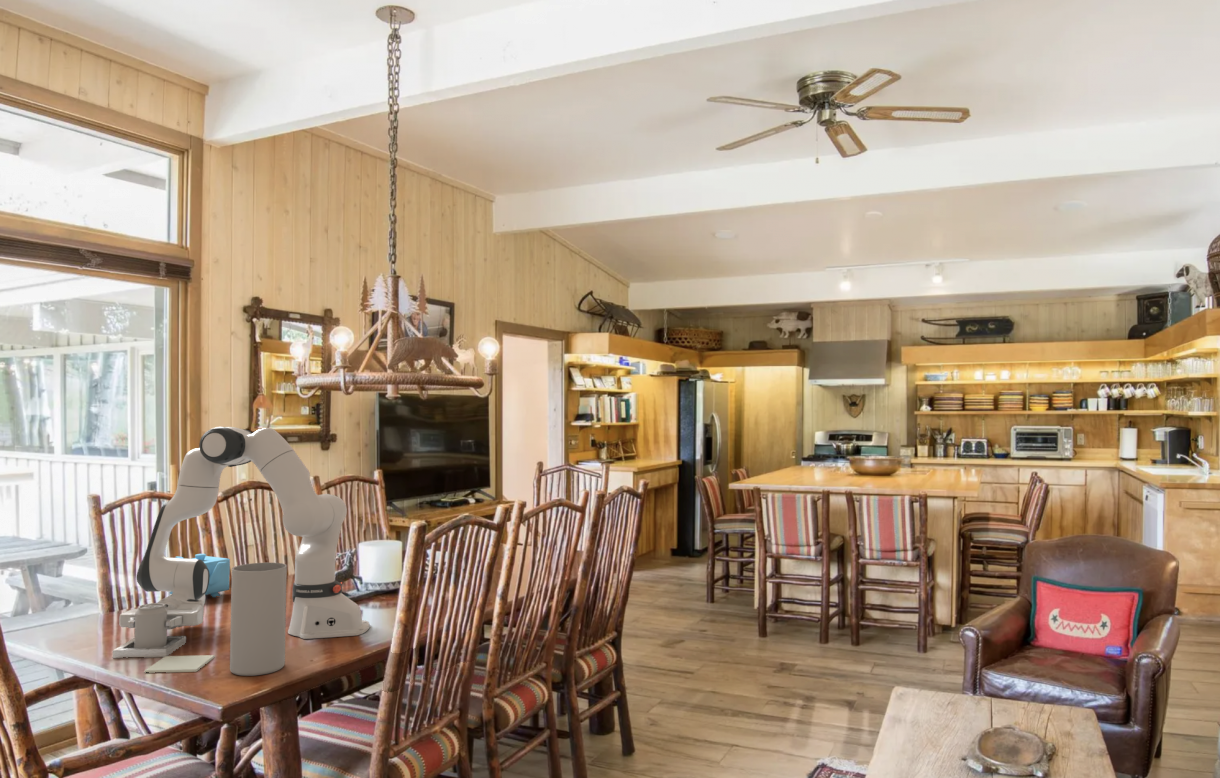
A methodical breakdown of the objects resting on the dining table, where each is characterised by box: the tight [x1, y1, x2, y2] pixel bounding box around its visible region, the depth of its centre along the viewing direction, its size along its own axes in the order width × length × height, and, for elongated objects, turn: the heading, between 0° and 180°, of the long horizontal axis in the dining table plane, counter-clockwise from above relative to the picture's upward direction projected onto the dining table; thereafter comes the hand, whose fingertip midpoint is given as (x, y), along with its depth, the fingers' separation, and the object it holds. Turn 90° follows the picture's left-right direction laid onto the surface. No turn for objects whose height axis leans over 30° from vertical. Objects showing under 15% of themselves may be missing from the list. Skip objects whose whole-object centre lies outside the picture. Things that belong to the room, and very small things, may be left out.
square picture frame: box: [112, 635, 187, 659], centre depth 221 cm, size 13×13×2 cm
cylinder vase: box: [229, 562, 288, 677], centre depth 206 cm, size 12×12×25 cm
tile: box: [144, 654, 215, 674], centre depth 208 cm, size 12×12×1 cm
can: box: [134, 602, 168, 648], centre depth 221 cm, size 8×8×12 cm
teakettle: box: [169, 553, 231, 598], centre depth 285 cm, size 19×19×15 cm
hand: (149, 624), depth 220 cm, fingers open, 8 cm apart
